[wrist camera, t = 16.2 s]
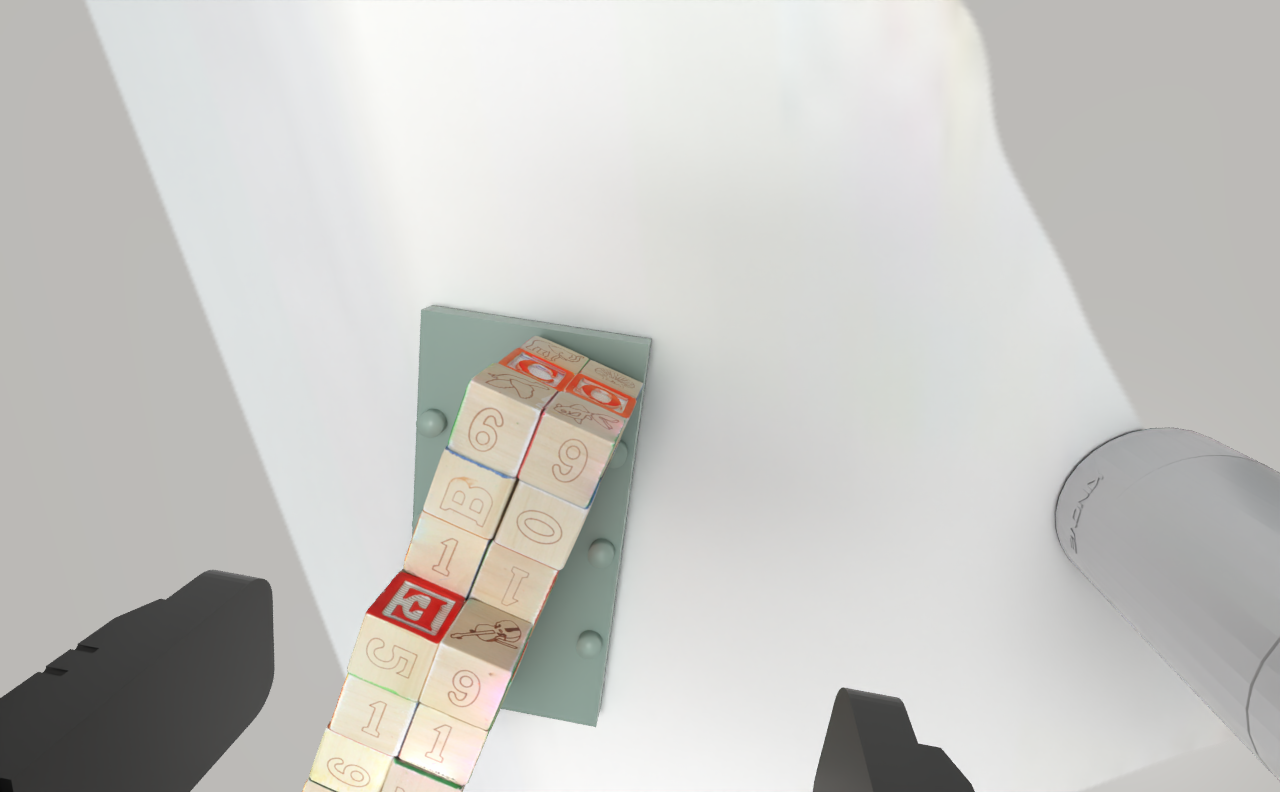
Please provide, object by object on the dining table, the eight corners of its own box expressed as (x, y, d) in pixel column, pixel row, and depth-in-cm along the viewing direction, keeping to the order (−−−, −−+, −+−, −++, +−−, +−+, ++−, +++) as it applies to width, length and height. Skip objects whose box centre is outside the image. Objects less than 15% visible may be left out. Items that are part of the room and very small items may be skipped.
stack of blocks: (533, 329, 35) (438, 398, 23) (647, 381, 35) (609, 475, 23) (407, 652, 41) (283, 834, 30) (503, 695, 42) (417, 893, 30)
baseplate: (651, 338, 37) (647, 348, 35) (600, 709, 44) (593, 736, 42) (432, 305, 38) (414, 312, 35) (416, 674, 45) (400, 699, 42)
